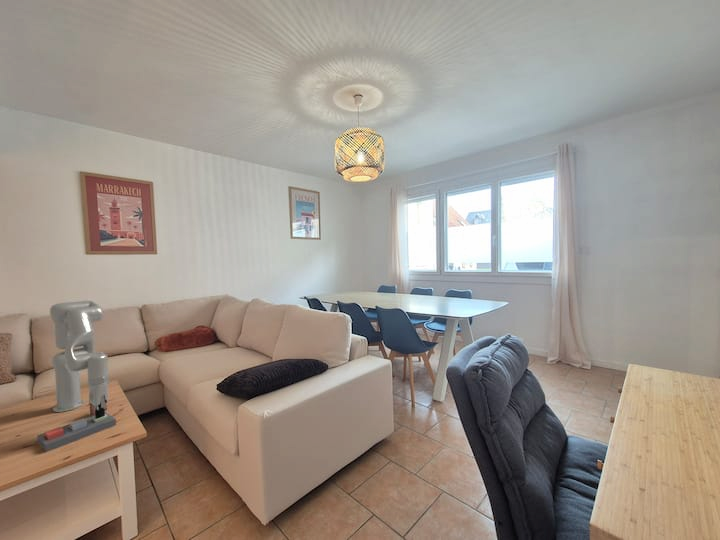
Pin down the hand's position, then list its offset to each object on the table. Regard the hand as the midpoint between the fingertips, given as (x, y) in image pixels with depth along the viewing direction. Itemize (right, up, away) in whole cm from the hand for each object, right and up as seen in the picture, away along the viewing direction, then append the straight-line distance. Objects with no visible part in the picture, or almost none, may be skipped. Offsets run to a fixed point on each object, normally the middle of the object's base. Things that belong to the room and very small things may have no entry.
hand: (100, 416), depth 145 cm
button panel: (-4, -4, -7) cm, 9 cm away
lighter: (-12, -4, +12) cm, 17 cm away
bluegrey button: (-4, -3, -7) cm, 8 cm away
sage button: (0, -3, 0) cm, 3 cm away
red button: (-9, -3, -13) cm, 16 cm away
